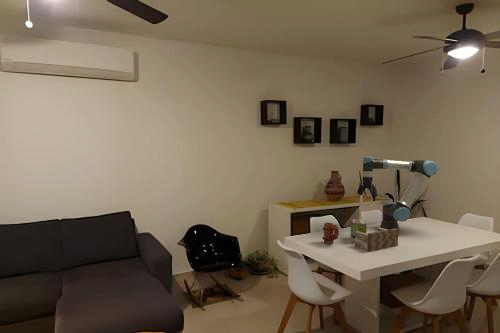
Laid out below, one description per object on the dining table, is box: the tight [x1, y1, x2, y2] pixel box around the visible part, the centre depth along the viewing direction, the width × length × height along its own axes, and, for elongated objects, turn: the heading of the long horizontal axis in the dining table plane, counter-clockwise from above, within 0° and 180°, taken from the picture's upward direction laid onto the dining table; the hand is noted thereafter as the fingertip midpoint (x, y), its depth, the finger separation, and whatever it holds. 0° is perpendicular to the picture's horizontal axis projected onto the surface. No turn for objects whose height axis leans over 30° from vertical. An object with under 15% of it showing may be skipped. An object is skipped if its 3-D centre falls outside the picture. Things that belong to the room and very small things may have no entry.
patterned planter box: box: [354, 227, 399, 253], centre depth 243 cm, size 28×14×12 cm, turn 119°
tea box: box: [350, 218, 368, 244], centre depth 257 cm, size 15×10×15 cm, turn 168°
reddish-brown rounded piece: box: [322, 222, 340, 245], centre depth 248 cm, size 15×8×15 cm, turn 23°
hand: (366, 204), depth 273 cm, fingers open, 11 cm apart
